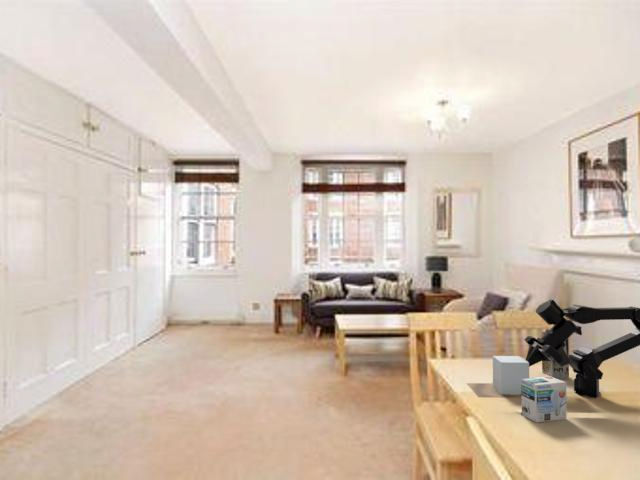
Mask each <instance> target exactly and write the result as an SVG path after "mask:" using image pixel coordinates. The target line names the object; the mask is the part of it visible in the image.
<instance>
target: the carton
mask: <svg viewBox="0 0 640 480" xmlns="http://www.w3.org/2000/svg"><path fill="white" fill-rule="evenodd" d="M527 378H530V367H529V362H527V361H526V360H525V359H524V358H523V357H522V356H520V355H492V383H493V387H494V388H495V389H496V390H497V391H498V392H499V393H500V394H506V395H522V393H521V379H527Z"/></svg>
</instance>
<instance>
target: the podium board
mask: <svg viewBox="0 0 640 480" xmlns="http://www.w3.org/2000/svg"><path fill="white" fill-rule="evenodd" d="M466 385H467V386H468V387H469V389H471V390H472V392H473V393H474V394H475V396H477V397H478V398H511V399H512V398H516V399H517V398H519V399H522V395H506V394H500V393H499V392H498V391H497V390H496V389H495V388H494V387H493V382H491V383H486V382H485V383H482V382H480V383H479V382H478V383H477V382H474V383H473V382H472V383H471V382H466Z"/></svg>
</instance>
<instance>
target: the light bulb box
mask: <svg viewBox="0 0 640 480" xmlns="http://www.w3.org/2000/svg"><path fill="white" fill-rule="evenodd" d="M521 393H522V398H521V415H522V416H524V417H525V418H527V419H529V420H531V421H533V422H535V423H544V422H545V423H546V422H554V421H561V420H562V421H563V420H567V382H566V381H565V380H562V379H556V378H553V377H551V376H548V375H547V376H540V377H537V376H536V377H529V378H527V379H521Z"/></svg>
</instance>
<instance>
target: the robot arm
mask: <svg viewBox="0 0 640 480" xmlns="http://www.w3.org/2000/svg"><path fill="white" fill-rule="evenodd" d="M535 313H536V314H537V315H538V316H539V317H540V318H541V319H542V320H543V321H545V323H546V324H547V325H553V326H552V327H551V328H550V329H548V328H546V329H545V331H544V332H546V334H545V335H544V336H543V337H542V338H540V337H537V338H536V337H534V336H532V335H527V336H526V337H525V338H524V342H526V343H527V345H528V350H527V353H526V357H525V359H524V360H526V361H527V362H529V368H530V367H531V366H534V365H536V364H538V363H539V362H542V361H550V360H549V359H550V358H551V357H552V358H553V359H554V362H555V363H556V364H557V365H560V366H561V367H562V366H564V365H567V364H569V368H571V369H572V372H573V373H575V378H574V379H573V391H574V394H576V395H578V396H581V397H586V398H587V397H588V398H592V399H597V398H598V397H599V396H600V395H601V392H600V380H602V378H603V375H604V372H603V371H602V370H600V369H599V368H600V366H601V365H602V363H603V362H605V361H608V360H609V359H612V358H614V357H617V356H619V355H622V354H623V353H626V352H628V351H630V350H632V349H635V348H637V347H640V307H635V306H627V307H624V306H623V307H619V306H618V307H592V306H586V305H580V304H571V305H569V307H566V308H561V307H560V306H559V305H558V304H557V302H556V301H555V300H554V299H552V298H551V299H549V300H547V301H545V302H543V303H541V304H539V305H538V306H537V308H536V309H535ZM566 318H567V319H568V320H567V319H566ZM602 320H603V321H606V320H607V321H611V320H613V321H614V320H615V321H616V320H622V321H623V320H630V321H631V323H632V324H633V326H635V327H634V328H633V329H632V331H631V332H629V333H627V334H625V335H622V336H620V337H618V338H616V339H613V340H612V341H608V342H607V343H605V344H602V345H600V346H597V347H595V348H592V349H591V348H589V347H587V346H581V347H579V348H578V349H576V350H572V352H571V353H569V358H568V357H567V355H566V353H565V351H564V349H563V348H564V347H565V343H564V342H565V341H566V340H567V339H568V340H569V338H570V337H571V336H572V335H573V334H576V335H579V336H582V335H583V333H582V332H583V331H582V326H580V325H576V324H575V323H578V324H581V325H588V324H592V323H596V322H598V321H602ZM574 322H575V323H574Z"/></svg>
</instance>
